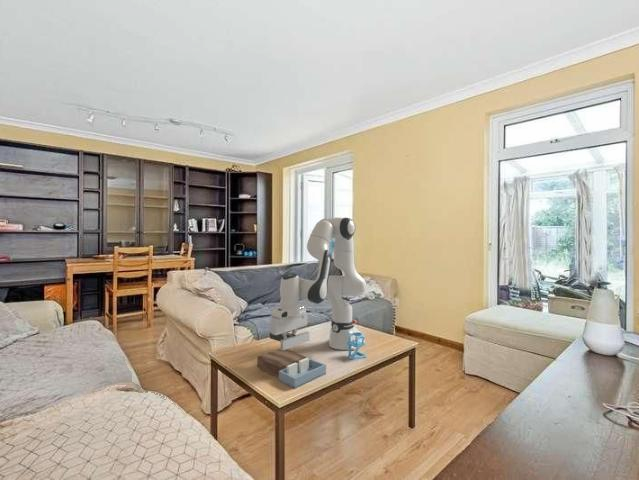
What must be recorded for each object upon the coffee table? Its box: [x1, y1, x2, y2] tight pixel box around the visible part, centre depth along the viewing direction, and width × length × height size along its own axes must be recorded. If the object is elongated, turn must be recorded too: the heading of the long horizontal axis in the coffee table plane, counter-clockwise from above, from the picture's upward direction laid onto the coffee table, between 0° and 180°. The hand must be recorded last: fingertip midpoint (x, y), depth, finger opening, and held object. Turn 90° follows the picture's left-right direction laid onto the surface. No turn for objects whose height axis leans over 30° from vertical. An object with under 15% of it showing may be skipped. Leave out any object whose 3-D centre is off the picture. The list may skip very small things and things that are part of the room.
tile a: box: [299, 357, 310, 373], centre depth 144 cm, size 5×5×2 cm
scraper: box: [269, 331, 310, 350], centre depth 148 cm, size 18×16×4 cm
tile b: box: [287, 363, 298, 377], centre depth 138 cm, size 5×5×2 cm
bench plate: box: [256, 348, 307, 379], centre depth 148 cm, size 16×16×5 cm
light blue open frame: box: [347, 332, 368, 360], centre depth 163 cm, size 8×8×12 cm
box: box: [278, 358, 327, 389], centre depth 139 cm, size 19×10×4 cm, turn 138°
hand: (289, 339), depth 145 cm, fingers closed on scraper, 2 cm apart
